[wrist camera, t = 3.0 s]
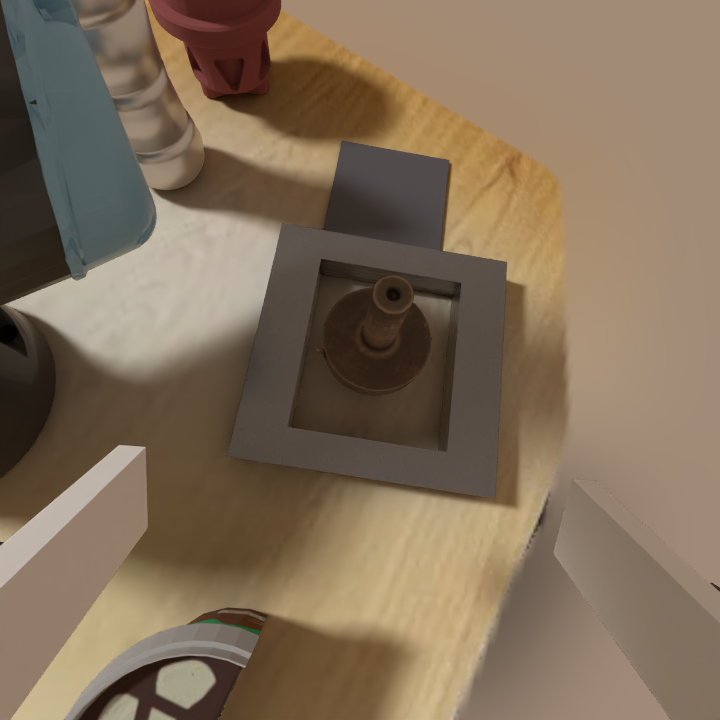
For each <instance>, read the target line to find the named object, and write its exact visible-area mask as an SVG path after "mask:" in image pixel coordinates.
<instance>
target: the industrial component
mask: <svg viewBox="0 0 720 720" xmlns="http://www.w3.org/2000/svg"><path fill="white" fill-rule="evenodd" d="M413 300H414V293H413V289H412V287H411V285H410V284H409V283H408V282H407V281H406V280H405V279H403V278H401V277H399V276H393V275H392V276H388V277H385V278H382V279H380V280H379V281H378V282H377V283H376V284H375V285H374V288H365V289H361V290H357V291H355V292H352V293H350V294H348V295H346V296H345V297H343V298H342V299H341V300H340V301H339V302H338V303H337V304H336V305H335V306H334V307H333V308H332V310H331V311H330V313H329V314H328V317H327V319H326V321H325V325H324V329H323V346H324V349H321V348H320V349H319V348H317V352H318V353H319V354H322V355H323V357H324V359H325V361H326V362H327V364H328V366H329V368H330V370H331V372H332V373H333V374H334V376H335V377H336V378H337V379H338V380H339V381H340V382H342V383H343V384H344V385H345V386H347V387H348V388H350V389H352V390H354V391H357V392H360V393H364V394H369V395H384V394H389V393H393V392H396V391H398V390H400V389H402V388H404V387H405V386H406V385H408V384H409V383H410V382H411V381H412V380H414V378H415V377H416V376H417V375H418V374H419V373H420V371H421V370H422V369H423V367H424V366H425V364H426V362H427V359H428V357H429V353H430V349H431V339H432V336H431V334H430V329H429V325H428V323H427V321H426V318H425V317H424V315H423V313H422V312H421V310H420V309H419V308H418V307H417V306H416V305H415V304H414V303H413Z"/></svg>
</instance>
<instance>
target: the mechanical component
mask: <svg viewBox="0 0 720 720" xmlns="http://www.w3.org/2000/svg"><path fill="white" fill-rule="evenodd" d="M149 3H150V6H151V9H152V11H153V14H154V16H155V18H156V20H157V21H158V23H159V24H160V25H161V26H162V27H163V28H164V29H165V30H166V31H167V32H168V33H170V34H171V35H172V36H174V37H176V38H178V39H179V40H181V41H183V42H184V45H185V48H186V51H187V54H188V58H189V61H190V64H191V67H192V70H193V72H194V75H195V77H196V78H197V79H198V81H199V82H200V83H201V86H202V89H203V92H204V94H205V95H206V96H207V97H209V98H216V97H219V96H222V95H226V94H238V93H244V92H245V93H254V94H259V95H262V94H265V93H266V92H267V91H268V90H269V83H268V77H267V76H268V74H269V72H270V67H271V63H270V55H269V47H268V40H267V31H268V30H269V29H270V28H271V27H272V26H273V25H274V23H275V22H276V21H277V19H278V16H279V14H280V10H281V0H149Z"/></svg>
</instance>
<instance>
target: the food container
mask: <svg viewBox="0 0 720 720" xmlns="http://www.w3.org/2000/svg"><path fill="white" fill-rule="evenodd" d="M266 618H267V616H266V615H264V614H261V613H259V612H256V611H254V610H251V609H240V608H224V609H220V610H216V611H212V612H209V613H205V614H202V615H201V616H199V617H198V618H196V619H195V620H193V621H192V622H190V623H189V624H187V625H183V626H178V627H175V628H172V629H168V630H165V631H162V632H159V633H156V634H154V635H152V636H150V637H148V638H146V639H144V640H142V641H140V642H138V643H136V644H135V645H133V646H132V647H130V648H129V649H127V650H126V651H124V652H123V653H122V654H120V655H119V656H117V657H116V658H115V659H114V660H113V661H112V662H111V663H109V664H108V665H107V666H106V667H105V668H104V669H103V670H102V671H101V672H99V673H98V675H97V676H96V677H95V678H94V679H93V680H92V682H91V683H90V684H89V685H88V686H87V687H86V689H85V690H84V691H83V692H82V693H81V695H80V696H79V698H78V699H77V701H76V702H75V704H74V705H73V707H72V708H71V710H70V711H69V713H68V714H67V716H66V718H65V719H64V720H217V719H218V717H220V716H221V714H220V713H221V711H222V710H223V709H224V708H223V707H224V705H225V703H226V701H227V699H228V697H229V694H230V692H231V691H232V689H233V686H234V685H235V683H236V680H237V678H238V676H239V674H240V672H241V670H242V668H243V667H244V668H245V667H246V665H247V663H248V661H249V658H250V656H251V654H252V652H253V650H254V648H255V645H256V643H257V641H258V639H259V637H260V636H259V635H260V632H261V630H262V628H263V625H264V623H265V621H266Z"/></svg>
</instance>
